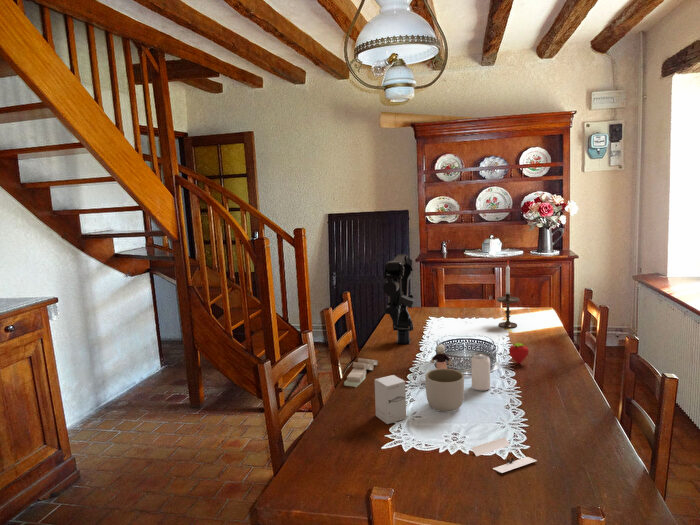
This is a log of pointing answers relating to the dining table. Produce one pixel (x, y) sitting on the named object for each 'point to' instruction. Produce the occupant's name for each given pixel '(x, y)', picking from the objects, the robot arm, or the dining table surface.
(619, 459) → the dining table surface
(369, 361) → the domino
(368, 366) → the domino
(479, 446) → the pale pink flat slab
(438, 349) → the grandmother figurine
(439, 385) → the planter
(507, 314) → the candlestick
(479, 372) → the can
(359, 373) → the domino
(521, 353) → the strawberry
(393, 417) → the supplement box
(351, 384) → the sage end domino
